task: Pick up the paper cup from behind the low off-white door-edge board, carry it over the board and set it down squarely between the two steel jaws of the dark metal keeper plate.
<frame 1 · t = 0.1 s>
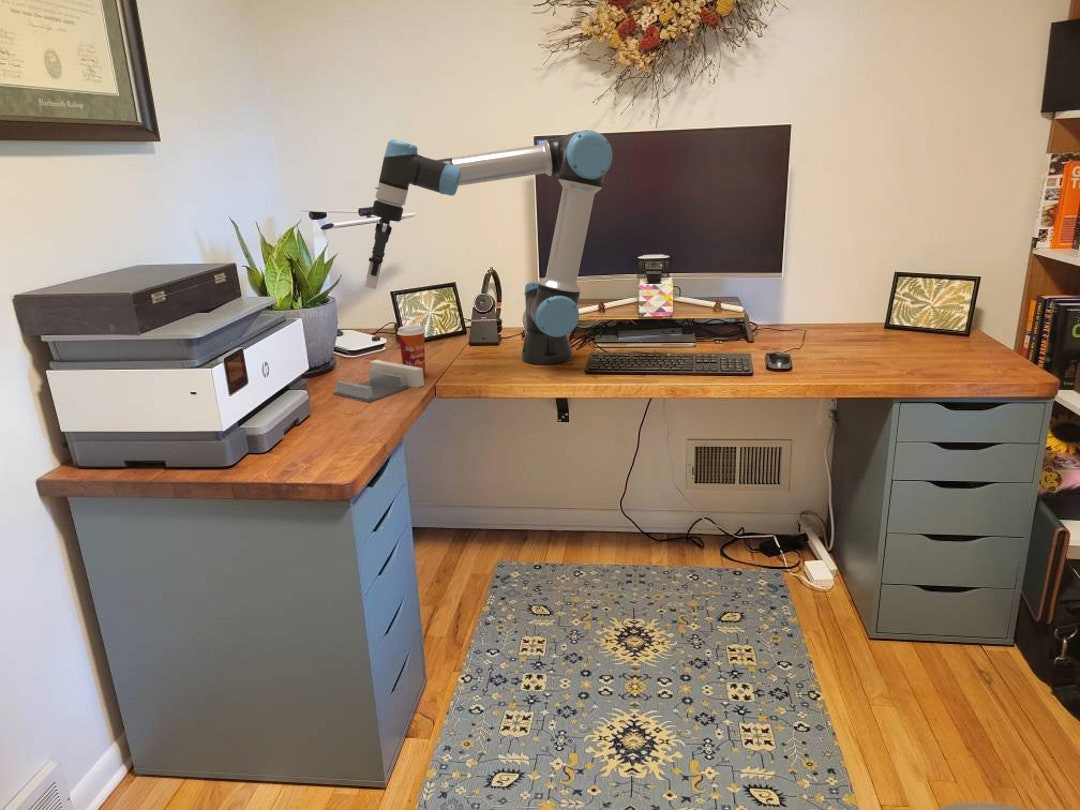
hand: (370, 283, 202), 28 cm above the table, tool tilted 20°, fingers open, 13 cm apart
paper cup: (415, 376, 217), on the table
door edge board: (397, 382, 212), on the table
keeper: (371, 391, 205), on the table
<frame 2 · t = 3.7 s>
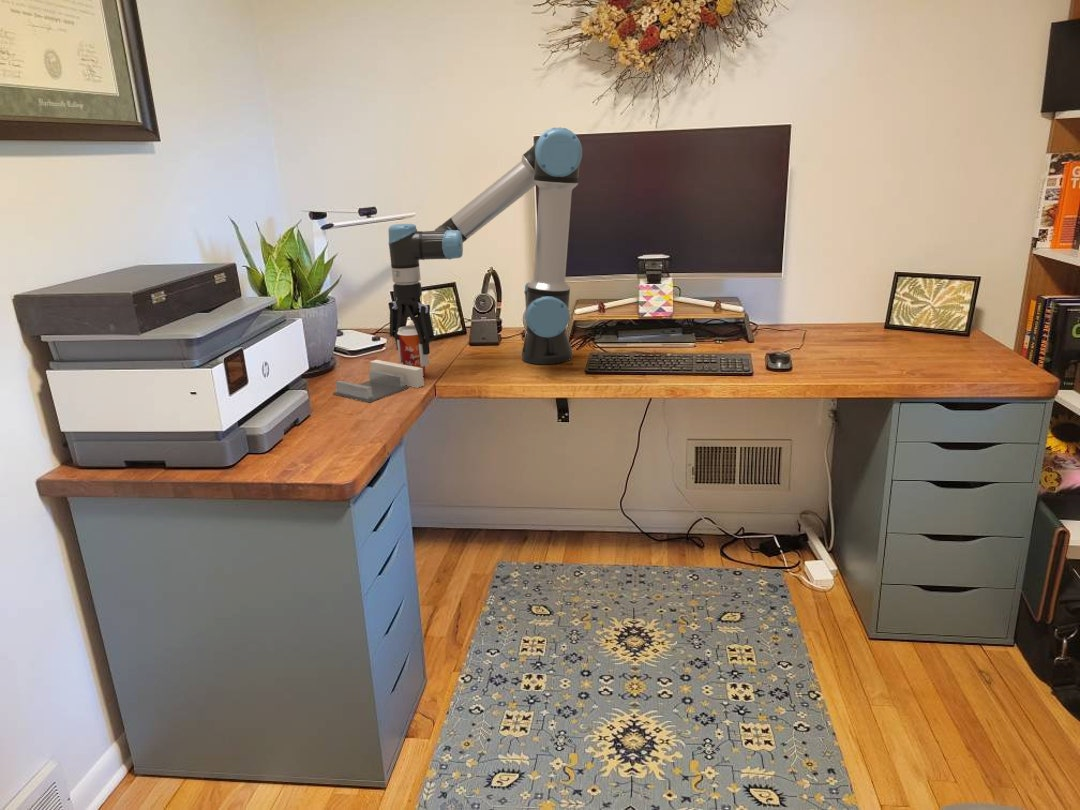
hand: (414, 363, 216), 4 cm above the table, tool pointing down, fingers closed on paper cup, 8 cm apart
paper cup: (415, 376, 217), on the table, touching gripper
when the fingers open (5 cm above the table, at t = 9.8 s): paper cup drops 1 cm, resting on keeper.
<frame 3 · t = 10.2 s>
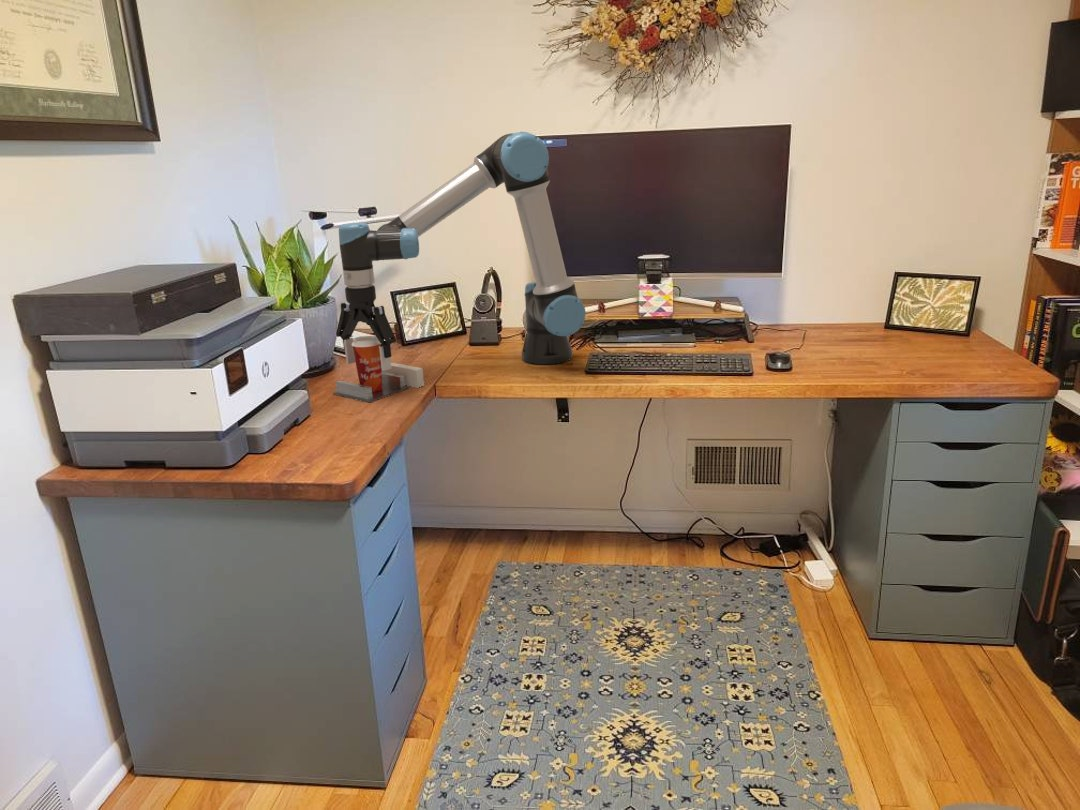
hand: (368, 366, 202), 7 cm above the table, tool pointing down, fingers open, 13 cm apart
paper cup: (371, 390, 204), resting on keeper
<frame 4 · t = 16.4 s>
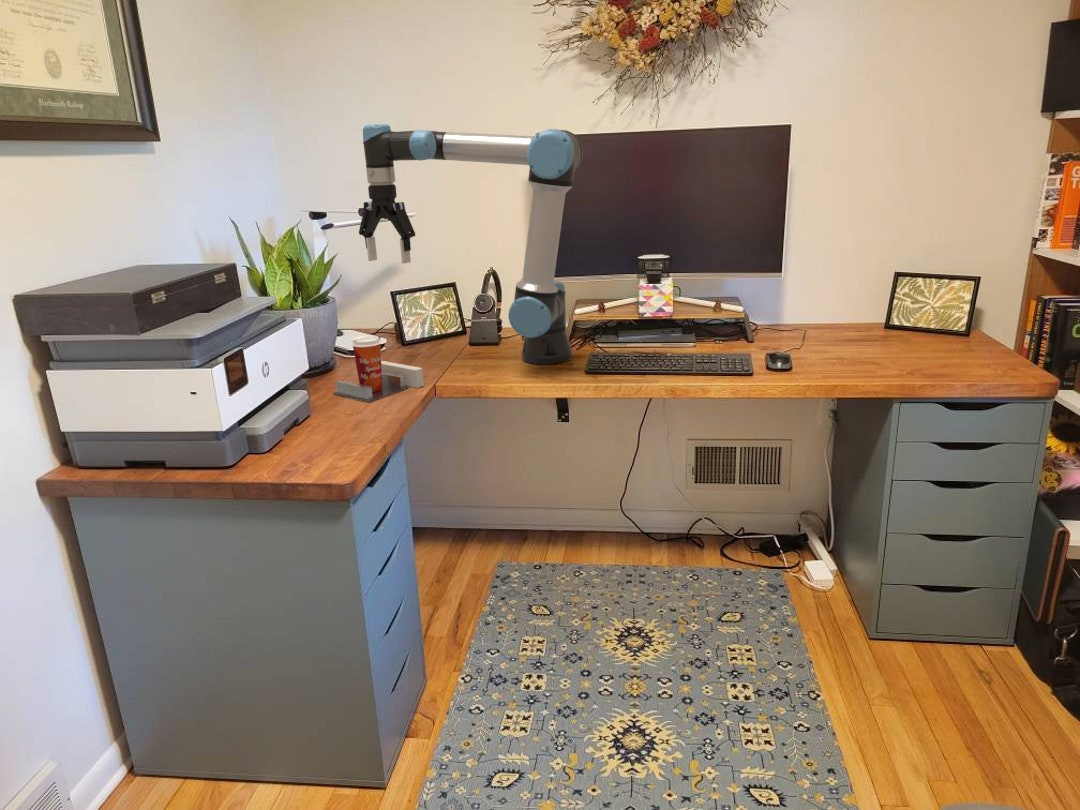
hand: (389, 261, 218), 31 cm above the table, tool pointing down, fingers open, 13 cm apart
nothing on the table moved.
at the end: paper cup 0.2 cm off-centre on the keeper, point 0.3 cm above the keeper's base; paper cup tilted 0°; the gripper is holding nothing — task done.
